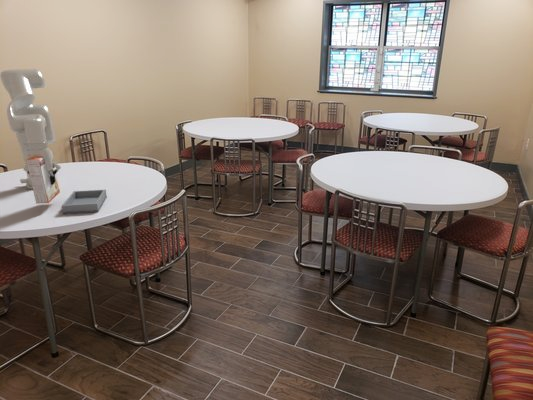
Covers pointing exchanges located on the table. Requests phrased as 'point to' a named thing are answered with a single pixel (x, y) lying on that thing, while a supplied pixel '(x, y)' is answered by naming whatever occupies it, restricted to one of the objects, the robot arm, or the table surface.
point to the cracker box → (42, 180)
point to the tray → (84, 201)
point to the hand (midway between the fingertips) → (45, 183)
